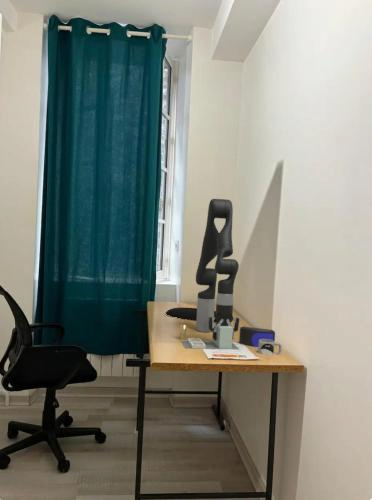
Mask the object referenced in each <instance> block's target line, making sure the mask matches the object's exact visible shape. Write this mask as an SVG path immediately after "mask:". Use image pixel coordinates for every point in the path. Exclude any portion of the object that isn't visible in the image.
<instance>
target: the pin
mask: <svg viewBox="0 0 372 500" xmlns="http://www.w3.org/2000/svg"><path fill="white" fill-rule="evenodd" d="M187 330H188V324H184V323H182V324H180V330H179V331H180V332H179V339H180V340H181V341H186V340H187V336H188V335H187V333H188V331H187Z"/></svg>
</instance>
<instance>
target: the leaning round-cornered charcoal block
mask: <svg viewBox="0 0 372 500" xmlns="http://www.w3.org/2000/svg"><path fill="white" fill-rule="evenodd" d="M238 337H239V339H238V340H239V341H238V343H239V344H240V345H243V346H248V347H253V348H258V346H259V339H270V340H273V341H275V340H276V331H274V330H273V329H268V328H261V327H259V328H258V327H252V326H251V327H250V326H241V327H239V336H238Z"/></svg>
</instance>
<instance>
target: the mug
mask: <svg viewBox="0 0 372 500" xmlns="http://www.w3.org/2000/svg"><path fill="white" fill-rule="evenodd" d="M275 346H278V348H279V349H278V351H275ZM257 349H258V350H257V352H258V353H259V354H262V355H274V354H276V355H280V354H281V353H282V344H281V343H279V342H275V341H273V340H270V339H259V346H258V347H257Z"/></svg>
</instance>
